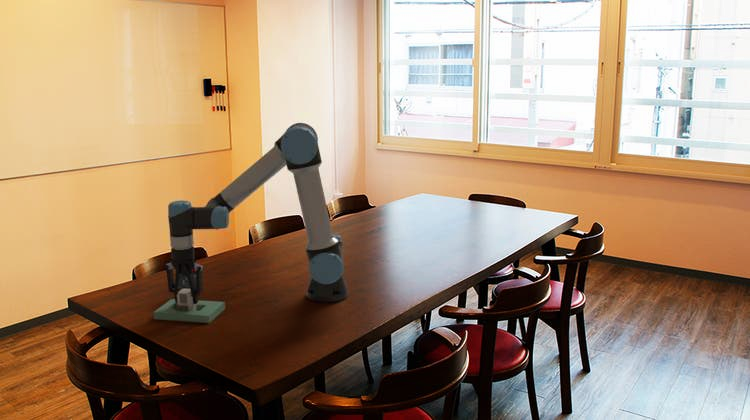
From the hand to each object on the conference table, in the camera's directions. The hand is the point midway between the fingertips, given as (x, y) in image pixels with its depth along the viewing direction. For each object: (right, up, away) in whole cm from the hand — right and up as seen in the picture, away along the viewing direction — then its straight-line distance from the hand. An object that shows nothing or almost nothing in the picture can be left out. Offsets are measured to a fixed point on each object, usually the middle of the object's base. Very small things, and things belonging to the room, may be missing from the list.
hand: (187, 311), depth 236 cm
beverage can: (-3, +3, +18) cm, 19 cm away
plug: (0, 0, 0) cm, 0 cm away
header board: (+1, -1, 0) cm, 1 cm away
